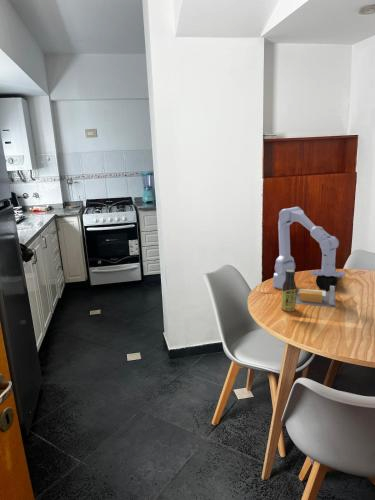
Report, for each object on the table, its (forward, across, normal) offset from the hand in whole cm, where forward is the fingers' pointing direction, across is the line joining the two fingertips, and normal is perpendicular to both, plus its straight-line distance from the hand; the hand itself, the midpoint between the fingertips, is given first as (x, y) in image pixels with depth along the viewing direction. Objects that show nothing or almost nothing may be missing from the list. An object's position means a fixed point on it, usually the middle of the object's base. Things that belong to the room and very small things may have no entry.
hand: (326, 290), depth 172 cm
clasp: (+5, +2, 0) cm, 6 cm away
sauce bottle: (+7, -16, -13) cm, 22 cm away
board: (+7, -5, +4) cm, 9 cm away
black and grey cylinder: (+7, +1, +33) cm, 34 cm away
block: (+5, -7, 0) cm, 9 cm away
